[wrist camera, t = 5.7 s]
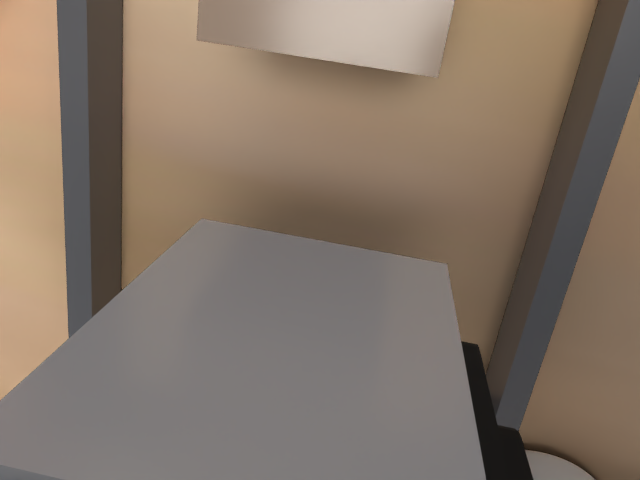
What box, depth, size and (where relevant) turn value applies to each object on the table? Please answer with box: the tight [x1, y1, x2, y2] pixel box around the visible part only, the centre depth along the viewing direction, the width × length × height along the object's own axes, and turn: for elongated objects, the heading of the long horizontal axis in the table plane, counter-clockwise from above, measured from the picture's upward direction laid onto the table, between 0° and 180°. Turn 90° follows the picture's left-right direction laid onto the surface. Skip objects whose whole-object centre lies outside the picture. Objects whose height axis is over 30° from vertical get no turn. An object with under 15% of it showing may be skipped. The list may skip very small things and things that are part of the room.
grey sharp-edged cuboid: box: [0, 219, 486, 480], centre depth 8 cm, size 4×5×6 cm
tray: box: [57, 0, 640, 431], centre depth 15 cm, size 15×20×2 cm
